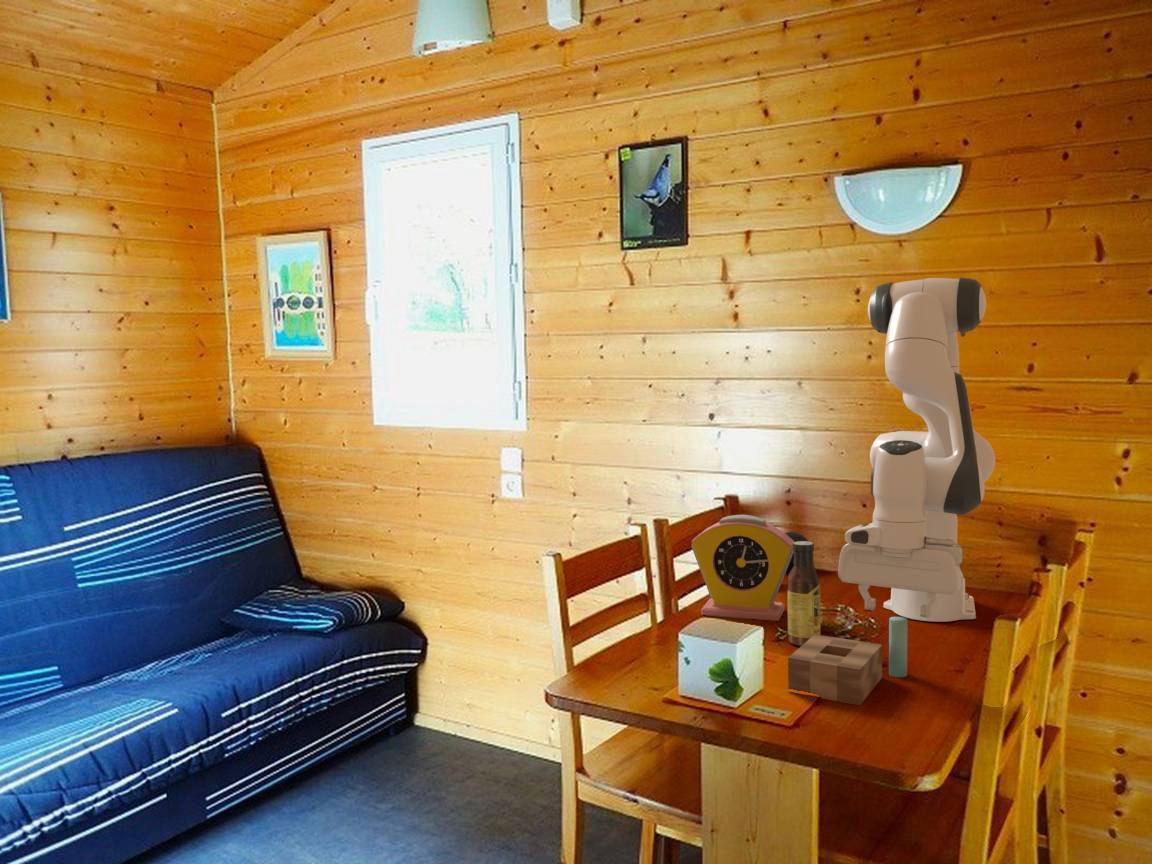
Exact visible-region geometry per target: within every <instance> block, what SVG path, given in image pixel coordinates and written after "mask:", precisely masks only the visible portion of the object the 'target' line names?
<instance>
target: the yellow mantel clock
mask: <svg viewBox="0 0 1152 864" xmlns="http://www.w3.org/2000/svg"><path fill="white" fill-rule="evenodd" d="M785 533H786V532H785V531H782V530H781V529H779V528H777V527H776V526H775V525H774V524H771V523H768V522H767V521H766V519H764V518H762V517H759V516H755V515H749V514H735V515H734V514H733V515H728V516H724V517H722V518H721V519H720V520H719V521H718V522H716V523H714V524H712V525H711V526H708V527H707V528H705V529H704V530H703V531H701V532H700V533H699V534H698V535H696V536H695V537H694V538H693V539H692V540H691V545H690V546H691V550H692V552H693V554H694V557H695V559H696V562H697V565H698V568H699V570H700V573H701V576H702V577H703V580H704V584H705V585H706V589H707V591H708V592H707V593H708V594H709V596H710V598H708V600H707V601H706V603H705V604H704V605H703V607H701V610H700V613H701V615H702V616H703V615H706V617H718V618H726V619H729V618H730V619H741V620H751V619H757V620H756V621H763V620H771V621H770V622H776V621H777V622H778V621H780V619H781V617H782V615H783V613H784V611H785V609H786V608H785V606H786V604H784V603H783V602H780V601H775V599H776V598H777V595H778V592H779V591H780V588H781V585H782V582H783V581H784V579H783V578H784V577H785V575H786V573H787V568H788V565H789V563H790V560H791V558H792V555H793V553H794V552H793V543H794V541H793V540H792V539H791V538H790V537H789V536H788V535H786V534H785ZM782 580H783V581H782Z"/></svg>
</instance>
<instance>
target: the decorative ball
mask: <svg viewBox="0 0 1152 864" xmlns="http://www.w3.org/2000/svg"><path fill="white" fill-rule="evenodd" d="M784 533H785V534H786V535H788V536H789V537H790V538H791V539H792V540H793V541H794V542H798V541H808V542H810V541H809V540H808V539H807V538H806V537H805V536H804V535H803V534H801V533H798V532H795V531H788V532H784ZM793 562H794V553H793V555H792V558H791V560H790V563H789V565H788V568H787V570H786V572H787V571H788V572H790V571H791V570H792V568H793V567H794V563H793Z"/></svg>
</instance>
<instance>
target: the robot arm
mask: <svg viewBox="0 0 1152 864" xmlns="http://www.w3.org/2000/svg"><path fill="white" fill-rule="evenodd" d="M982 287H983V286H982V284H981V283H980V282H979V281H978V280H977V279H973V278H970V277H969V278H968V277H961V276H960V277H959V278H949V277H947V278H946V277H926V278H923V279H915V280H906V281H900V282H893V281H891V282H886V283H883V284H879V285H876V287H875V288H874V289H873V291H871V294H870V298H869V301H868V305H867V314H868V318H869V321H870V324H871V327H872V328H873V329H874V330H875V331H876V332H877V333H879V334H883V335H884V334H885V335H886V338H885V349H884V368H885V371H884V372H885V375H886V377H887V379H888V380H889V382H890V383H891V384H892V385H893V386H894V387H895V388H896V389H897V390H899V391H900V392H901V393H902V400H903V403H904V405H905V406H906V408H908V410H909V411H911V412H913V413H914V414H916V415H918V416H920V417H921V418H922V420H924V422H925V424H926V426H927V429H928V431H915V430H912V431H911V430H897V431H890V432H885V433H881V434H879V435H878V436H877V437H876V438H875V439H874V441H873V442H872V445H871V447H870V451H869V462H870V465H871V467H872V469H871V471H870V495H871V497H872V498H873V499H874V509H873V513H872V522H870V523H864V524H859V525H856V526H854V527H852V528H849V529H848V530H847V531H846V532H845V533H844V540H845V541H844V542H846V543H845V545H843V547H842V548H841V550H840V553H839V560H838V566H837V567H838V568H837V569H838V570H837V573H838V578H839V579H840V581H841V582H843V583H848V584H858V591H859V593H860V595H861V596H862V599H863V600H864V610H870V611H874V610H876V607H877V606H876V602H877V599H876V598H874V597H873V598H872V597H871V594H870V593H869V591H868V590H869V588H870V586H872V587H873V586H875V587H881V588H890V589H891V590H890V592H891V593H890V599H888V600H886V601H884V602H883V606H882V607H883V608H885V609H887V610H889V611H892V612H893V613H894V614H897V615H898V616H900V617H903V618H906V619H911V620H917V621H922V622H924V621H925V622H933V623H934V622H936V623H937V622H939V623H941V622H942V623H943V622H955V621H959V620H960V621H961V620H975V619H977V614H976V613H977V612H976V607H975V600H974V599H975V598H974V596H972V595H970V594H969V593H967V592H966V578H964V574H963V573H962V571H961V568H960V565H961V564H962V562H963V553H964V552H963V548H962V547H961V545H959V543H958V522H959V520H958V519H959V518H958V516H957V515H959V516H966V515H968V514H970V513H971V512H972V511H974V510H976V509H977V508H978V507H979V506H980V505H981V504H982V502H983V499H984V497H985V488H986V487H985V483H986V482H987V481H988V480H989V478H990V477H991V476H992V474H993V472H994V470H995V466H996V455H995V451H994V448H993V446H992V445H991V444H990V442H989V441H988V440H987V439H985V437H983V436H982V435H981V434H980V433H978V432H977V431H976V429H975V428H974V426H973V425H974V424H973V418H972V411H971V405H970V401H969V395H968V390H967V386H966V382H965V380H964V378H963V376H962V375H961V374H960V349H959V340H958V334H957V332H959V334H960V337H961V338H964V337H965V336H966V333H968V332H971V331H973V330H975V329H976V328H978V326H979V325H981V323H982V320H983V318H984V315H985V313H986V309H987V297H986V294H985V291H984V289H983V288H982Z"/></svg>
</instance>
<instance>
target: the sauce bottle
mask: <svg viewBox="0 0 1152 864" xmlns="http://www.w3.org/2000/svg"><path fill="white" fill-rule="evenodd" d="M808 541H809V540H808ZM808 541H798V542H794V543H793V552H794V562H793V563H794V567H793V568H792V570H791V571H789V574H788V576H787V592H786V593H787V634H788V642H789V643H790V644H791V645H795V646H797V647H801V646H802V645H803V644H804V643H805V642H807V641H808V640H809V639H810V638H811V637H812V636H813V635H814V634H815V635H821V582H820V578H819V577H818V574H817V571H816V567H815V565H814V550H815V545H814V544H815V543H814V542H812V541H809V542H808Z"/></svg>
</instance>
